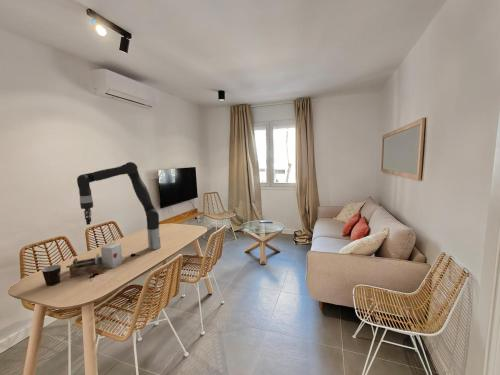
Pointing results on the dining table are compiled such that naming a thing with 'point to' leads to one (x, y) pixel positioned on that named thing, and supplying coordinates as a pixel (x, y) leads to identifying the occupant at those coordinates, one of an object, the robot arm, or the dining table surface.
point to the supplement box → (111, 255)
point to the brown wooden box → (85, 267)
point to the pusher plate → (97, 261)
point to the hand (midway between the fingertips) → (89, 223)
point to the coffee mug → (52, 274)
